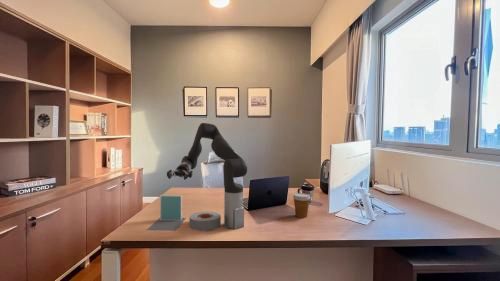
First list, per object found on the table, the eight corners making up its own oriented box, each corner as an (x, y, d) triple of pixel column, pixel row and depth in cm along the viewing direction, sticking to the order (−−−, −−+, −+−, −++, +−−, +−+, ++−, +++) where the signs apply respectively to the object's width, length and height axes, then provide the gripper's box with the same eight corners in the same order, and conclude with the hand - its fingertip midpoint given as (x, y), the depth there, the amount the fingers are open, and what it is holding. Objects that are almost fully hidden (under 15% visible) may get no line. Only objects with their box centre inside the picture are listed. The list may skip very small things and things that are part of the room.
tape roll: (187, 222, 133) (187, 212, 133) (216, 219, 139) (216, 209, 139) (191, 233, 119) (191, 222, 119) (224, 229, 125) (224, 218, 124)
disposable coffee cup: (290, 217, 143) (290, 195, 143) (295, 212, 152) (296, 192, 151) (307, 219, 139) (307, 197, 138) (311, 215, 147) (312, 194, 147)
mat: (186, 218, 139) (186, 217, 139) (176, 231, 121) (176, 230, 121) (160, 218, 139) (160, 217, 139) (146, 230, 121) (146, 229, 121)
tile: (182, 219, 136) (182, 194, 136) (181, 220, 135) (181, 195, 134) (161, 219, 137) (161, 194, 136) (160, 220, 135) (160, 195, 134)
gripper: (172, 163, 161) (164, 170, 145) (195, 164, 161) (189, 171, 145) (172, 174, 162) (164, 183, 146) (194, 175, 162) (189, 184, 147)
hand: (176, 177), depth 146 cm, fingers open, 8 cm apart
